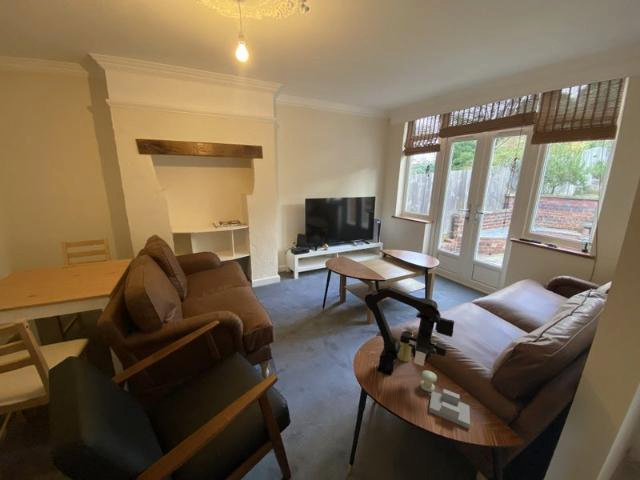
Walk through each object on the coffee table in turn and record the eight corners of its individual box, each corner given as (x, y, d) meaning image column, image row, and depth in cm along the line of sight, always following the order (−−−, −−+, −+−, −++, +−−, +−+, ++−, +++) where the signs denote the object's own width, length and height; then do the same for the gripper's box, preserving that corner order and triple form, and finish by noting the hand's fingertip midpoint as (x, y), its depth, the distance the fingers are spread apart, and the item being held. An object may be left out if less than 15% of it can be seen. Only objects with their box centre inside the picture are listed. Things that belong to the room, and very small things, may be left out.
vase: (410, 363, 132) (415, 337, 129) (398, 360, 133) (402, 335, 130) (409, 355, 138) (413, 331, 135) (397, 353, 139) (401, 328, 136)
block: (413, 362, 117) (416, 350, 115) (414, 357, 120) (417, 346, 119) (423, 366, 115) (425, 354, 114) (424, 361, 119) (426, 349, 117)
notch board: (428, 411, 103) (430, 400, 102) (431, 394, 112) (433, 384, 111) (469, 428, 97) (471, 417, 96) (468, 409, 106) (470, 399, 105)
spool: (419, 388, 115) (421, 376, 114) (421, 380, 120) (423, 368, 119) (433, 394, 112) (436, 382, 111) (435, 385, 118) (437, 373, 116)
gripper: (400, 329, 111) (394, 362, 114) (449, 345, 103) (441, 379, 106) (404, 319, 121) (399, 348, 124) (449, 332, 113) (442, 363, 116)
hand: (419, 359), depth 117 cm, fingers closed on block, 4 cm apart
